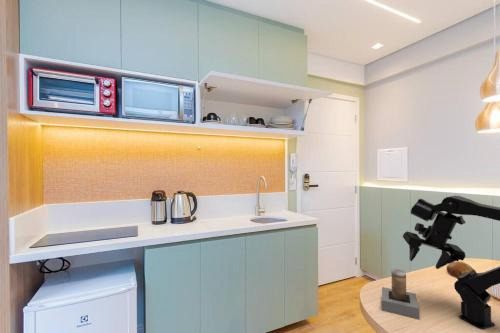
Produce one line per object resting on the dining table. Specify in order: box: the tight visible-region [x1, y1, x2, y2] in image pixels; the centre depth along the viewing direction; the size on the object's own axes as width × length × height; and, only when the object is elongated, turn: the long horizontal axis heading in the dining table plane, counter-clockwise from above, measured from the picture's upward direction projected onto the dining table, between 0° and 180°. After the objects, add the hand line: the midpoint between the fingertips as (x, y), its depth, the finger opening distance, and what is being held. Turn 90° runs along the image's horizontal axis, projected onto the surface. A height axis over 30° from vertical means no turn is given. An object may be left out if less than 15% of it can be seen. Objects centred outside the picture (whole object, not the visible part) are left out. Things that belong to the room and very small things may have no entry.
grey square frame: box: [381, 286, 420, 320], centre depth 89 cm, size 11×11×4 cm
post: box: [390, 268, 407, 303], centre depth 89 cm, size 5×5×12 cm
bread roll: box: [446, 261, 474, 279], centre depth 114 cm, size 10×10×8 cm
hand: (423, 264), depth 92 cm, fingers open, 9 cm apart
